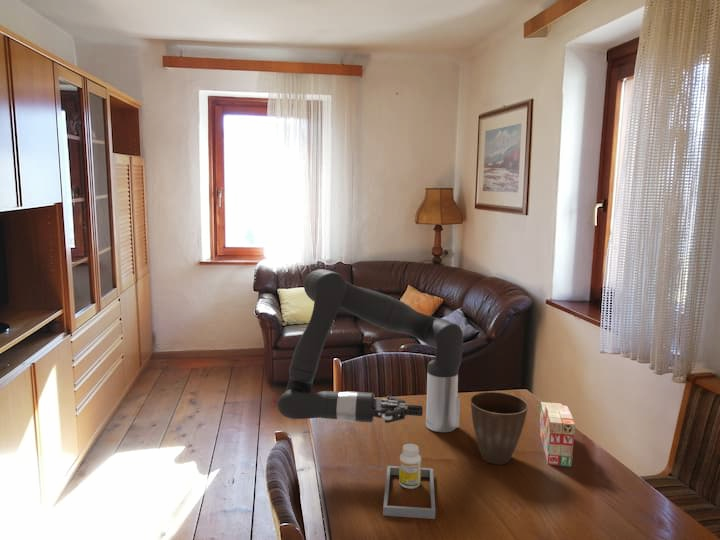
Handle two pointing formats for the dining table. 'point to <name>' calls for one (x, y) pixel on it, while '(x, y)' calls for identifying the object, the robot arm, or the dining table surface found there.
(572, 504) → the dining table surface
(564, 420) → the stack of blocks
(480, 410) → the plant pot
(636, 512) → the dining table surface
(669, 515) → the dining table surface
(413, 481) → the supplement bottle
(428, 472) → the frame
